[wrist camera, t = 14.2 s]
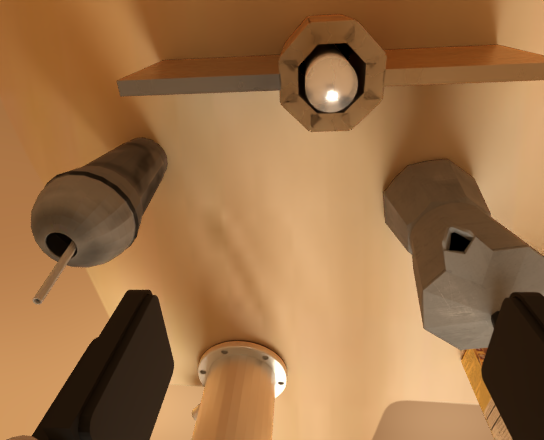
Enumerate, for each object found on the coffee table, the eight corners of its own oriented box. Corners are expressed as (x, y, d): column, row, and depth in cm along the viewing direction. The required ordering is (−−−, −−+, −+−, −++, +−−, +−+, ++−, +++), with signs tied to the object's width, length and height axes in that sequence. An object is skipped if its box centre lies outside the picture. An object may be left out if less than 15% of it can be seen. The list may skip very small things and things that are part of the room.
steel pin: (324, 85, 33) (332, 122, 23) (297, 62, 32) (294, 90, 22) (347, 56, 32) (368, 81, 21) (321, 32, 31) (329, 46, 21)
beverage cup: (120, 109, 35) (-50, 214, 18) (191, 146, 37) (95, 275, 20) (101, 171, 39) (-57, 309, 22) (167, 202, 40) (66, 355, 23)
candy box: (540, 345, 47) (632, 480, 34) (527, 367, 49) (610, 502, 36) (468, 340, 47) (532, 471, 34) (459, 362, 50) (515, 494, 36)
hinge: (506, 4, 29) (587, 7, 21) (486, 92, 32) (549, 125, 24) (156, 24, 31) (104, 33, 23) (171, 104, 35) (130, 137, 27)
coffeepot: (354, 172, 37) (391, 297, 22) (447, 120, 34) (569, 222, 18) (418, 277, 43) (484, 433, 27) (503, 241, 40) (631, 395, 24)
